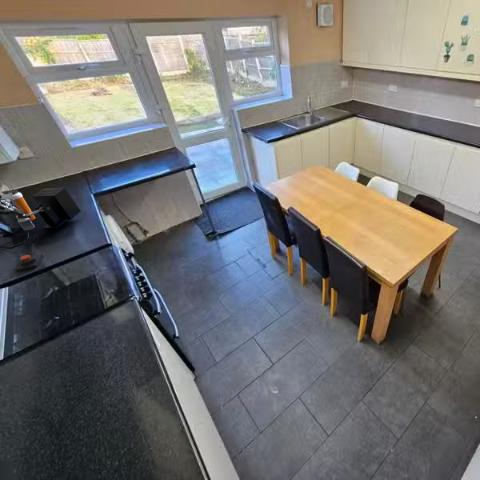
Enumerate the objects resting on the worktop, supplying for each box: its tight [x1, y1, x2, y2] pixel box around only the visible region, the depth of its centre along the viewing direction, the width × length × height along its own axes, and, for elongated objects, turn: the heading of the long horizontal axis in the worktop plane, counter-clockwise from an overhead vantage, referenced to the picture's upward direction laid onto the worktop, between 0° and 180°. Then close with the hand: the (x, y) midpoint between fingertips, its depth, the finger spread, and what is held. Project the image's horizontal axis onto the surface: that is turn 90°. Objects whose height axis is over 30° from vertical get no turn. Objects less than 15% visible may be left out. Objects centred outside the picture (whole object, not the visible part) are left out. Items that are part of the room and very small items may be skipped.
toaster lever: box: [16, 206, 44, 220], centre depth 159 cm, size 15×6×2 cm, turn 3°
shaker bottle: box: [0, 189, 36, 222], centre depth 171 cm, size 9×9×20 cm
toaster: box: [32, 187, 82, 221], centre depth 174 cm, size 10×13×18 cm
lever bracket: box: [34, 204, 68, 230], centre depth 168 cm, size 10×8×14 cm
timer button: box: [19, 254, 31, 262], centre depth 141 cm, size 4×4×2 cm
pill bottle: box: [15, 214, 35, 231], centre depth 167 cm, size 5×5×9 cm
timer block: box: [15, 253, 45, 272], centre depth 142 cm, size 10×8×4 cm
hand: (22, 214), depth 153 cm, fingers closed
